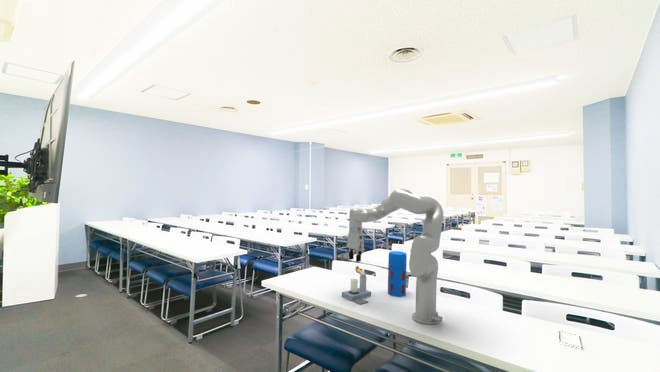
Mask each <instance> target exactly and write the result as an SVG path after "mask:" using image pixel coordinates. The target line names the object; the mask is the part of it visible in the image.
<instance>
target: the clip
mask: <svg viewBox="0 0 660 372" xmlns="http://www.w3.org/2000/svg"><path fill="white" fill-rule="evenodd" d="M354 271H355V272H357V273H358V275H360V276H362V277H365V276H366V277H367V273H366V272H364V271H362V270H361V269H360V268H359V266H358V265H356V266H355V269H354ZM360 276H359V277H360Z"/></svg>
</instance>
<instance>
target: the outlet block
mask: <svg viewBox="0 0 660 372" xmlns="http://www.w3.org/2000/svg"><path fill="white" fill-rule="evenodd" d="M350 290H351V289H349V290H345V291H342V292H341V297H343V298H344V299H346V300H349V301H350V302H353V300H356V299H360V298H362V299H365V298H369V297H371V296H372V292H371V291H369V290H367V275H366V276H365V277H362V276H359V287H357V291H358V293H357V294H355V295H353V294H351V293H350Z"/></svg>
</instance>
